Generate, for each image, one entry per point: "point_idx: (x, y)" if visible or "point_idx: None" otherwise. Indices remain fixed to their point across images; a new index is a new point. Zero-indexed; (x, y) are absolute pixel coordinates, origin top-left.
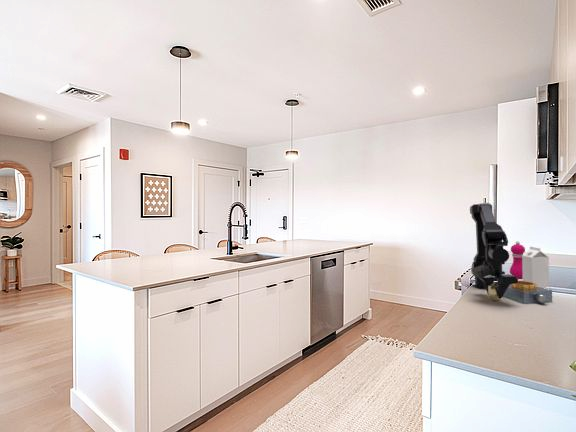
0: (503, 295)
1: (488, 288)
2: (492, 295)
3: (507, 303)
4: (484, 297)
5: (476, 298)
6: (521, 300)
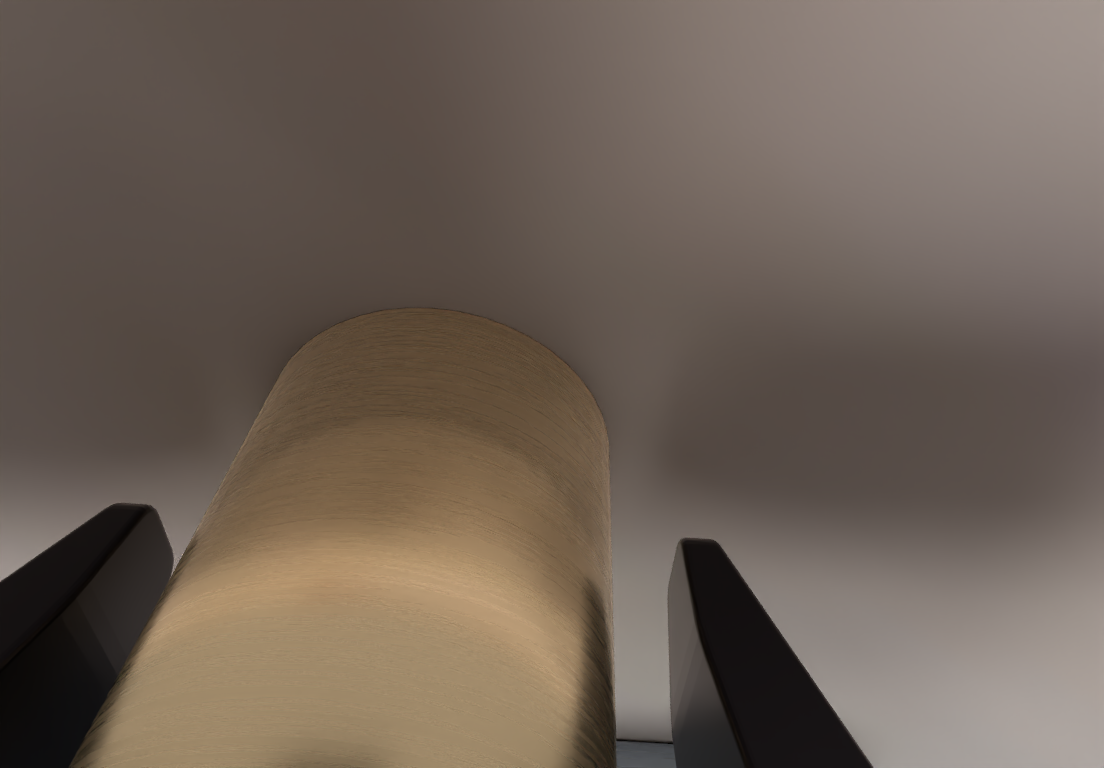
0: (666, 764)
1: (431, 723)
2: (258, 469)
3: (77, 504)
4: (786, 384)
5: (819, 9)
6: None
